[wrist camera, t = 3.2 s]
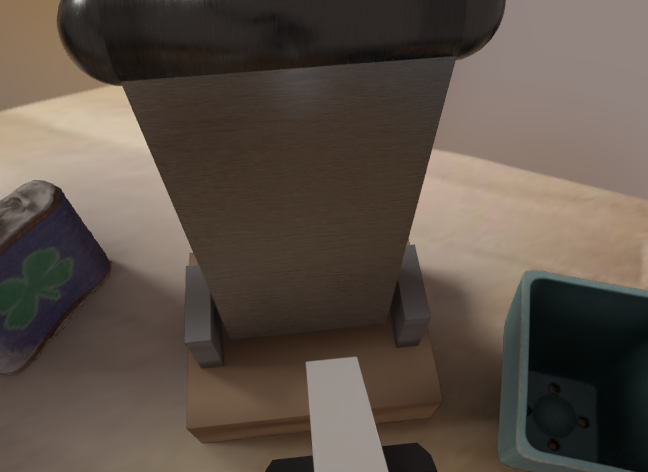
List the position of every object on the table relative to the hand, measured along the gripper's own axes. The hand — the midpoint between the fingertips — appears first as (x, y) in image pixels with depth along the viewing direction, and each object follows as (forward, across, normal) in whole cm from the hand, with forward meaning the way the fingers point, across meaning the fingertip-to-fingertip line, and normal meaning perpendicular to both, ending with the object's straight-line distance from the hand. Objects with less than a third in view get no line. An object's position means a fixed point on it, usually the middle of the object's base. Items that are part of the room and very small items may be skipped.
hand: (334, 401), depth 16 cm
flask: (+20, -16, -3) cm, 26 cm away
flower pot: (+13, +13, -10) cm, 21 cm away
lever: (+13, -1, -3) cm, 13 cm away
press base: (+17, -1, -6) cm, 18 cm away
